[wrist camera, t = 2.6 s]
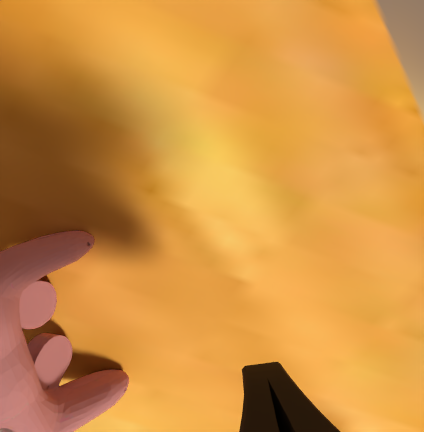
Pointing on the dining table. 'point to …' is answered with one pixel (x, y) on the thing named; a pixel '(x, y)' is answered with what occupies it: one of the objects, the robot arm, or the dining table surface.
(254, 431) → the robot arm
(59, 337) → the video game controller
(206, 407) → the dining table surface
